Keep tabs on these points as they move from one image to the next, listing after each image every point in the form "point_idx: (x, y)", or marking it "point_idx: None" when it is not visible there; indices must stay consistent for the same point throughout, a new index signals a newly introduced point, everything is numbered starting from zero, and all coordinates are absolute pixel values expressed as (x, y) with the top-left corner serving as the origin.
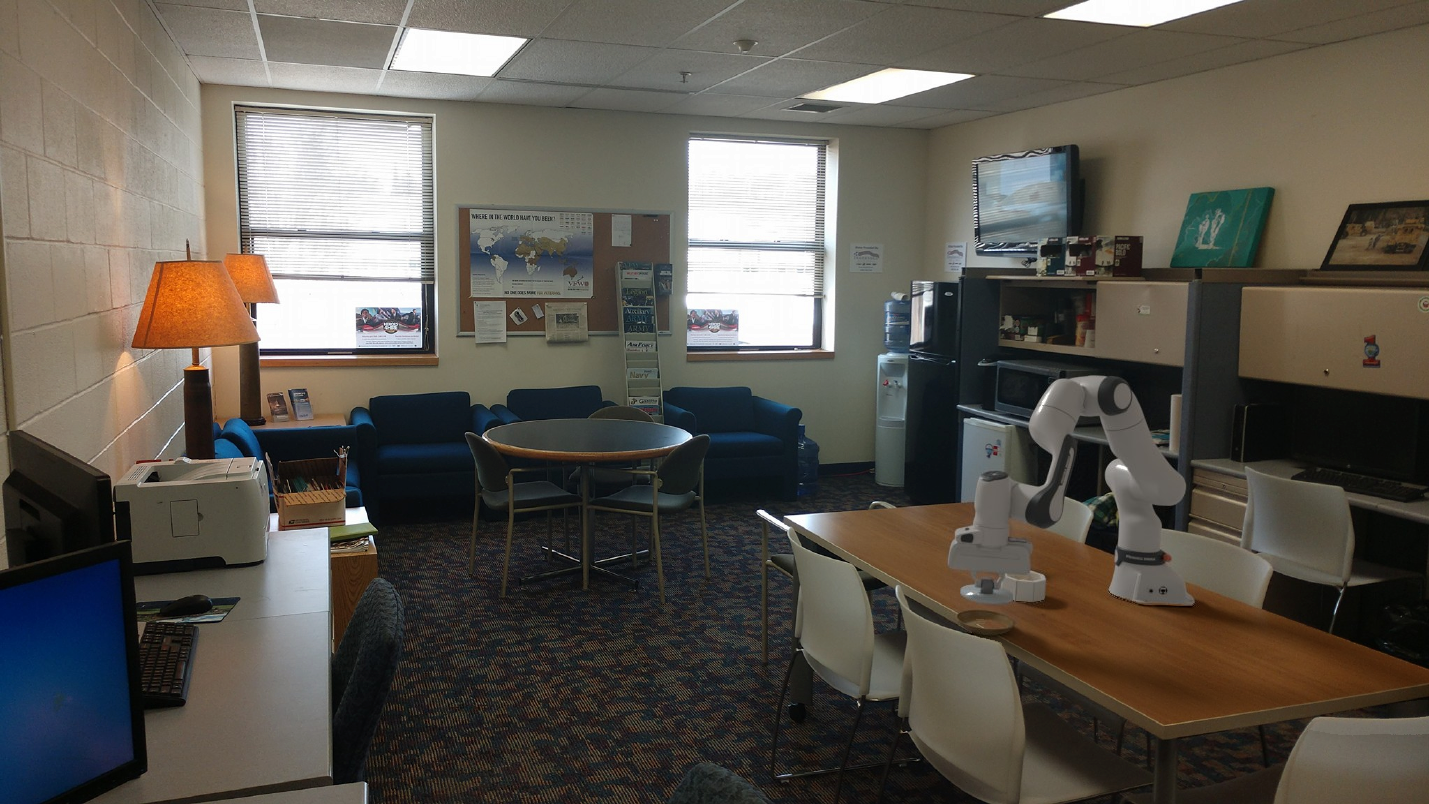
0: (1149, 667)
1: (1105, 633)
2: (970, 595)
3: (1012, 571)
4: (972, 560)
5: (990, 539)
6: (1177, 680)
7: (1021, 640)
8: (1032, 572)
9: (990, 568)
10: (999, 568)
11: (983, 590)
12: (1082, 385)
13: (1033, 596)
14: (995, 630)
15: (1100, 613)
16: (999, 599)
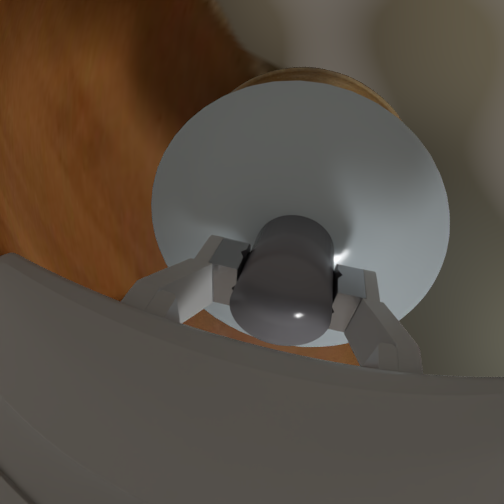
0: (12, 37)
1: (44, 183)
2: (426, 187)
3: (48, 289)
4: (446, 475)
5: None
6: (4, 10)
7: (200, 67)
8: None
9: (241, 379)
10: (132, 351)
11: (324, 239)
12: None
13: None
14: (288, 72)
15: (69, 278)
16: (236, 112)
